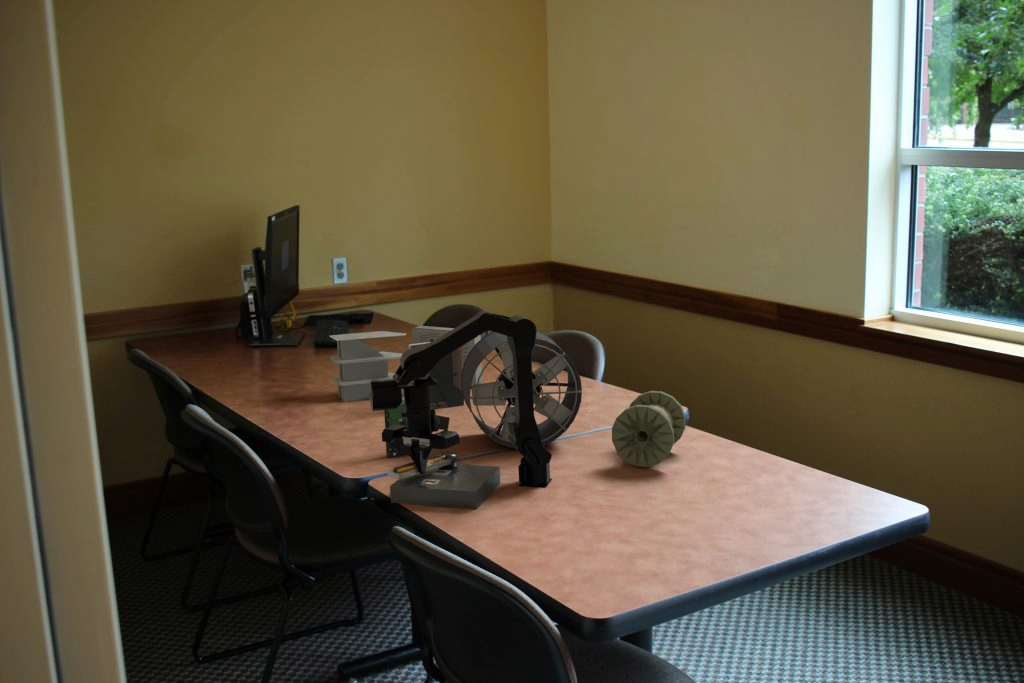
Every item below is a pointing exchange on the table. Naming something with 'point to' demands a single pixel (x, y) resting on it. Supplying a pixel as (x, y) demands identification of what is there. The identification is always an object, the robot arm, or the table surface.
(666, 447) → the spool
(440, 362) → the picture frame
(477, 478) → the grey flat block
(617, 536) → the table surface
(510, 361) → the ventilation fan
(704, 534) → the table surface
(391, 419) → the disk drive
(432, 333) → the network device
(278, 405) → the table surface
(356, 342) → the file organizer
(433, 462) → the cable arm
